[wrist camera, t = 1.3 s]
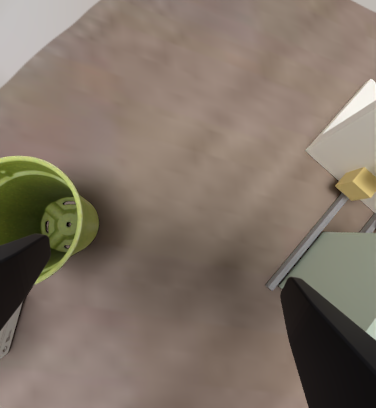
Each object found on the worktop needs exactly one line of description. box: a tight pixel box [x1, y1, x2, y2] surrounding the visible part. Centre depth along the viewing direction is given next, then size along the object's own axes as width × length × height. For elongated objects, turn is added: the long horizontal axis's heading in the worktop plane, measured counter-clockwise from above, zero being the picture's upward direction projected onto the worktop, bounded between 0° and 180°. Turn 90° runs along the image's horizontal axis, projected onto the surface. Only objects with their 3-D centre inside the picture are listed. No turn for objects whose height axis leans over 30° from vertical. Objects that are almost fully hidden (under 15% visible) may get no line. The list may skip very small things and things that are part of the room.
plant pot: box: [0, 156, 99, 285], centre depth 20 cm, size 9×9×9 cm
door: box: [279, 232, 376, 340], centre depth 19 cm, size 8×4×11 cm, turn 137°
